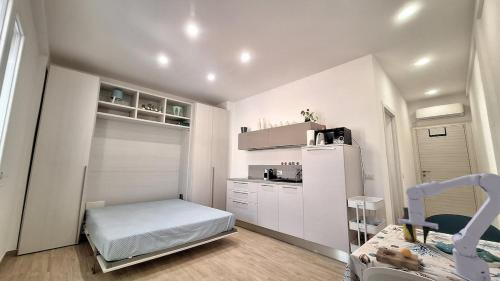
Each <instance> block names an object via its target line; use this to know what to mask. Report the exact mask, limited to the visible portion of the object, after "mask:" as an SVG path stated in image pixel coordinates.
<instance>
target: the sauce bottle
mask: <svg viewBox="0 0 500 281" xmlns="http://www.w3.org/2000/svg"><path fill="white" fill-rule="evenodd" d="M402 209H403V215H402V217H401V219H407V220H409V212H408V206H403V207H402ZM402 230H403V231H402V233H403V238H404V240H405V241H407V242H412V243H416V242H417V231H416V230H417V228H416V226H414V225H413V234H414V242H413V241H412V238H411V235H410V233H409V231H408V229H407V228H406V224H402Z"/></svg>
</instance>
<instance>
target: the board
mask: <svg viewBox="0 0 500 281" xmlns="http://www.w3.org/2000/svg"><path fill="white" fill-rule="evenodd" d="M375 260H378V261H377V262H380V261H382V262H381V263H385V262H386V264H390V265H393V266H398V267H402V266H403V267H402V268H406V267H408V268H407V269H410V268H412V269H411V270H415V271H419V256H418V254H415V253H412V255H411V257H404V256H403V255H402V253H401V250H400V251H399V250H394V249H389V248H383V247H379V248H378V249H377V252H376V253H375Z"/></svg>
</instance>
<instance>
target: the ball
mask: <svg viewBox="0 0 500 281" xmlns="http://www.w3.org/2000/svg"><path fill="white" fill-rule="evenodd" d="M400 252H401V253H402V255H403V256H404V257H411V255H412V254H413V253H412V252H411V250H410V249H409V248H407V247H404V248H402V249H400Z"/></svg>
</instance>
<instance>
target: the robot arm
mask: <svg viewBox="0 0 500 281" xmlns="http://www.w3.org/2000/svg"><path fill="white" fill-rule="evenodd" d="M462 186H473V187H480V188H481V189H482V190H483V191H484V193H485V195H486V197H487V199H486V200H485V201H484V202H483V204H482V205H481V206H480V208H479V209H478V210H477V211H476V213H475V214H474V215H473V217H472V218H471V220H469V221H468V223H467V224H466V225H465V227H464V228H462V229H461V230H459V232H457V233H454V234H452V236H451V238H450V239H451V242H452V245H453V248H452V249H451V250H452V255H453V256H452V257H453V262H454V268H455V269H454V270H453V269H452V270H449V272H450V273H452V274H454V275H456V276H458V277H460V278H461V279H464V280H466V281H493V279H491V273H490V267H489V265H488V262H487V261H486V260H484V259H482V258H481V257H479V256H478V253H477V246H478V245H479V243H480V240H481V237H482V236H483V235H484V233H485V232H486V231H487V230H488V229H489V227H490V226H491V225H492V223H493V222H494V221H495V220H496V219H497V217H498V216H499V215H500V175H499V174H495V173H489V172H479V173H475V174H468V175H463V176H460V177H459V176H458V177H455V178H451V179H448V180H444V181H441V182H439V181H436V180H427V181H426V182H423V183H421V184H420V183H416V184H415V186H414V185H410V186H408V188H407V189H406V191H405V193H406V196H407V198H406V199H407V207H408V212H409V220H407V219H402V218H398V219H397V222H398V224H400V225H401V224H402V225H403V224H406V228H407V229H408V231H409V233H410V235H411V238H412V241H413V242H412V243H415V242H414V234H413V225H414V226H415V227H422V234H423V244H425V245H426V243H427V238H428V235H429V233H430V231H431V229H435V230H439V224H438V223H433V222H428V221H426V220H425V212H424V211H425V210H424V203H423V201H422V200H423V198H422V197H424V198H425V197H430V196H434V195H439V194H442V193H443V191H444V190H447V189H452V188H458V187H462Z"/></svg>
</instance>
